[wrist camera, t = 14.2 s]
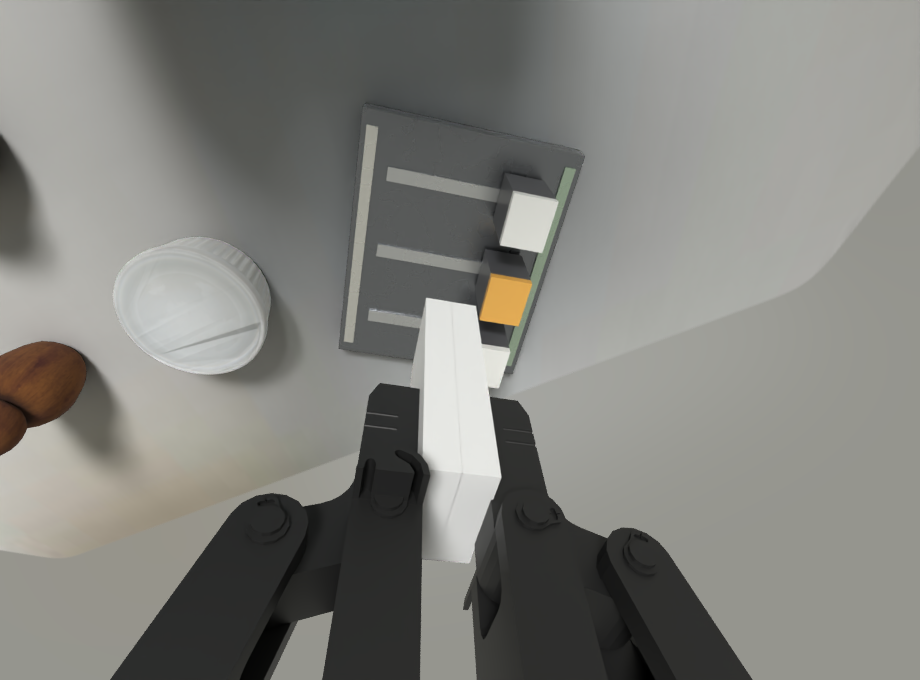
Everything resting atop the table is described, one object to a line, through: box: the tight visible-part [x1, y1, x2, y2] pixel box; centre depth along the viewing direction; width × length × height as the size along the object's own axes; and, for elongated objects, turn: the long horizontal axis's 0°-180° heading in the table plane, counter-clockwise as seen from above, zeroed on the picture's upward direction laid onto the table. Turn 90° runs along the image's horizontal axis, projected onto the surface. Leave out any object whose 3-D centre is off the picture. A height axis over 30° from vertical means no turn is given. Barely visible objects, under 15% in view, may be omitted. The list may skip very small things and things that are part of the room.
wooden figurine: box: [0, 341, 87, 456], centre depth 40 cm, size 7×6×15 cm
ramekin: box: [113, 237, 271, 375], centre depth 41 cm, size 11×11×5 cm
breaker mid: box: [475, 249, 532, 326], centre depth 38 cm, size 3×4×5 cm
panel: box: [339, 103, 585, 374], centre depth 41 cm, size 16×20×2 cm
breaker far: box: [477, 315, 510, 388], centre depth 42 cm, size 3×4×5 cm
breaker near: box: [493, 173, 559, 253], centre depth 35 cm, size 3×4×5 cm
